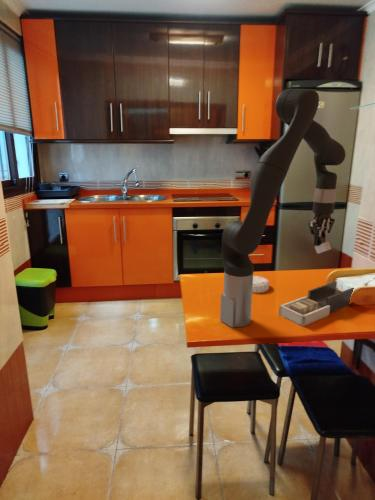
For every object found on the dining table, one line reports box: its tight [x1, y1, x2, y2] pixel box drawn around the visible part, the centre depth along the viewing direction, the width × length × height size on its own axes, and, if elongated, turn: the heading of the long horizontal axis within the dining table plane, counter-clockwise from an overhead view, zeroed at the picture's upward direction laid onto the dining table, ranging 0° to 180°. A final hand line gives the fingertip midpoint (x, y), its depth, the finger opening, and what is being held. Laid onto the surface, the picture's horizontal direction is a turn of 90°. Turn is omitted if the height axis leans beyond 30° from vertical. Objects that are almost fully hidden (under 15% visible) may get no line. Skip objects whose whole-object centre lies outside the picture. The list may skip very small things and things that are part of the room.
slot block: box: [307, 281, 355, 314], centre depth 126 cm, size 16×8×6 cm, turn 124°
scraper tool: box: [312, 230, 332, 254], centre depth 134 cm, size 2×5×9 cm, turn 34°
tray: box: [278, 295, 330, 327], centre depth 119 cm, size 14×10×4 cm
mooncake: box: [252, 275, 270, 294], centre depth 143 cm, size 12×12×4 cm
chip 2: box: [301, 298, 318, 313], centre depth 119 cm, size 4×4×4 cm
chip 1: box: [290, 302, 308, 315], centre depth 117 cm, size 4×4×4 cm
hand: (319, 244), depth 135 cm, fingers closed on scraper tool, 2 cm apart
